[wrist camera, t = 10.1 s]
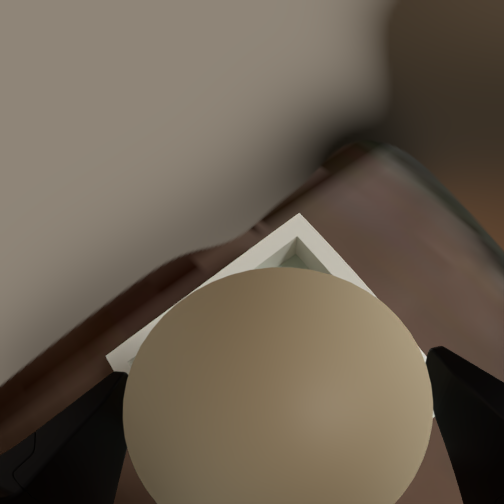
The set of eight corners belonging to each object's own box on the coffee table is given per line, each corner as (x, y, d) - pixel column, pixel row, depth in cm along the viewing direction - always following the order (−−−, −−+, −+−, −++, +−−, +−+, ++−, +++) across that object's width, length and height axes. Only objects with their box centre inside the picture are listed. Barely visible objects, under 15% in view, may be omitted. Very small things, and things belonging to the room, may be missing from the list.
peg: (261, 435, 14) (201, 579, 2) (230, 368, 16) (87, 337, 4) (332, 402, 15) (468, 464, 3) (299, 337, 16) (346, 220, 4)
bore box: (260, 510, 13) (252, 548, 8) (145, 363, 16) (105, 355, 12) (415, 391, 14) (455, 393, 10) (295, 251, 18) (299, 212, 14)
